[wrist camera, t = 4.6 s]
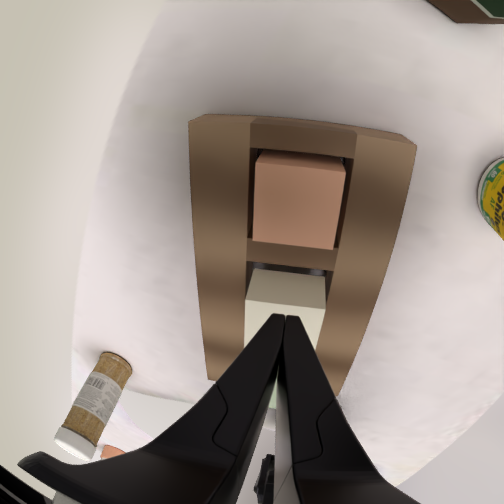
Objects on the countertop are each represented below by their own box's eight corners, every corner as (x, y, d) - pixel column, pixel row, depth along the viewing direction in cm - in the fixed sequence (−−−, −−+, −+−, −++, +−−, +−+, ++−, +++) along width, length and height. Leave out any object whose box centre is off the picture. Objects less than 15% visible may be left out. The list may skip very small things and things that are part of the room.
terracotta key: (329, 225, 19) (332, 249, 17) (260, 217, 20) (252, 240, 17) (339, 157, 17) (345, 172, 14) (263, 148, 17) (255, 162, 15)
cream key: (313, 326, 21) (312, 359, 19) (251, 319, 22) (243, 351, 19) (324, 276, 19) (325, 309, 17) (253, 268, 20) (245, 299, 17)
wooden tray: (337, 370, 28) (337, 396, 26) (215, 355, 30) (207, 379, 27) (401, 134, 16) (417, 145, 14) (205, 114, 18) (188, 121, 15)
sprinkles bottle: (103, 365, 36) (58, 447, 24) (100, 345, 33) (47, 435, 22) (133, 379, 36) (93, 466, 24) (133, 360, 33) (86, 456, 22)
